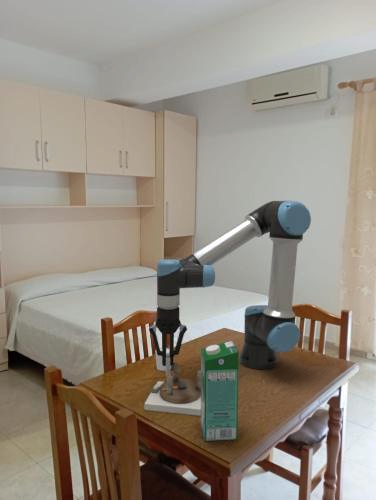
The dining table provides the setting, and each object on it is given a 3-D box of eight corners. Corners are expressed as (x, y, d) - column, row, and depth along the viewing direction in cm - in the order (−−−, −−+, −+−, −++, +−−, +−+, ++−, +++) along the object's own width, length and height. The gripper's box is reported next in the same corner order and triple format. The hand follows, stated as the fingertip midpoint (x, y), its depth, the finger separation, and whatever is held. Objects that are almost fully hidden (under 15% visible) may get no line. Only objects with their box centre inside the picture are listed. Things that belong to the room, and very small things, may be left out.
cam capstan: (191, 380, 140) (191, 359, 139) (207, 398, 127) (208, 375, 126) (154, 387, 135) (154, 365, 134) (167, 406, 122) (167, 382, 121)
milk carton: (200, 423, 117) (201, 340, 114) (231, 421, 118) (232, 339, 115) (204, 441, 108) (205, 352, 105) (237, 439, 109) (238, 351, 106)
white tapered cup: (173, 364, 159) (173, 347, 158) (171, 372, 152) (171, 354, 152) (156, 364, 160) (156, 347, 159) (153, 371, 153) (153, 353, 152)
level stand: (214, 392, 136) (214, 381, 136) (208, 416, 121) (208, 404, 120) (158, 386, 140) (158, 376, 140) (144, 409, 125) (144, 398, 124)
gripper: (186, 303, 137) (185, 369, 140) (148, 304, 136) (148, 370, 138) (188, 308, 130) (187, 378, 133) (149, 309, 128) (148, 380, 131)
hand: (167, 374), depth 136 cm, fingers closed
